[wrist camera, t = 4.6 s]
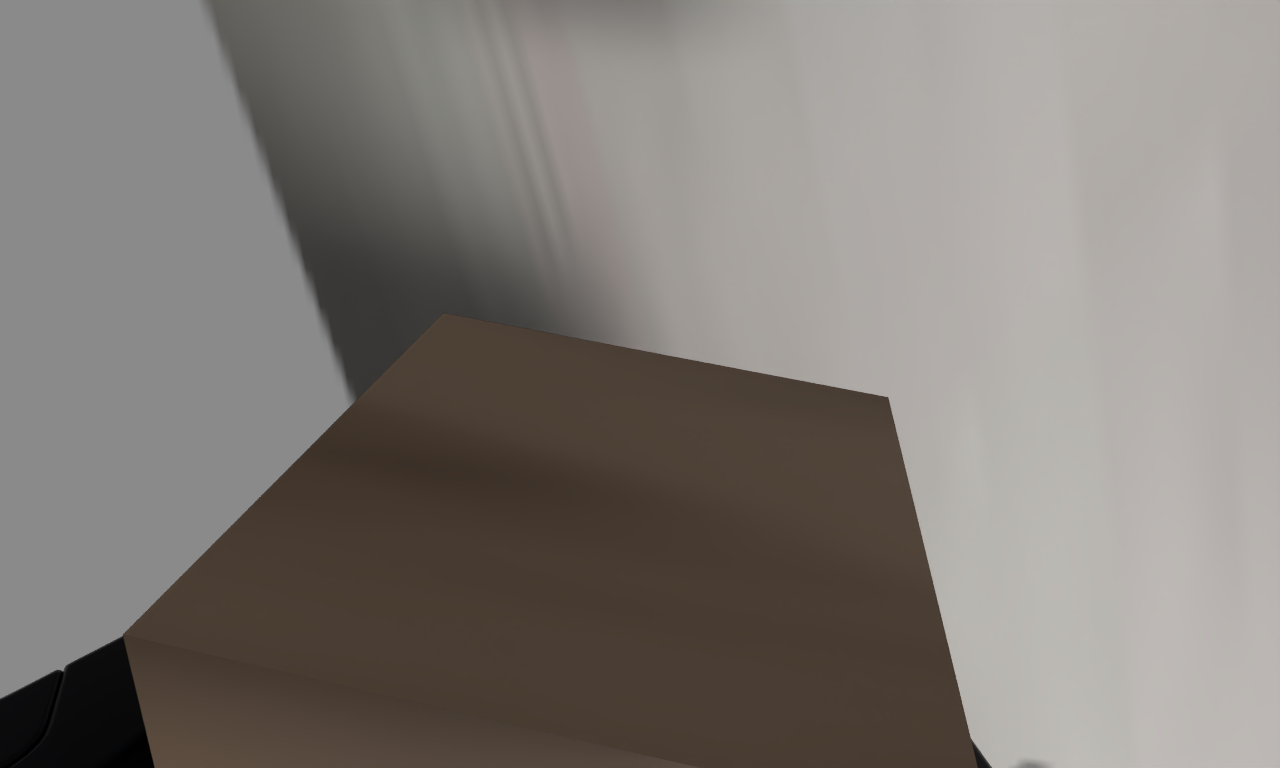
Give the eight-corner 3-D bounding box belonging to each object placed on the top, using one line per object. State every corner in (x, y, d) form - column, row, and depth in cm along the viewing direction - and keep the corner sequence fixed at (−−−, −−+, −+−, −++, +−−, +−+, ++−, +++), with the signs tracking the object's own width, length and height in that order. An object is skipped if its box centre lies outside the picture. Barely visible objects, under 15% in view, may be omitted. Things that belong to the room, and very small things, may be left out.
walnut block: (787, 711, 11) (790, 1202, 7) (438, 634, 11) (222, 1048, 7) (888, 397, 9) (992, 834, 4) (443, 313, 9) (122, 634, 5)
